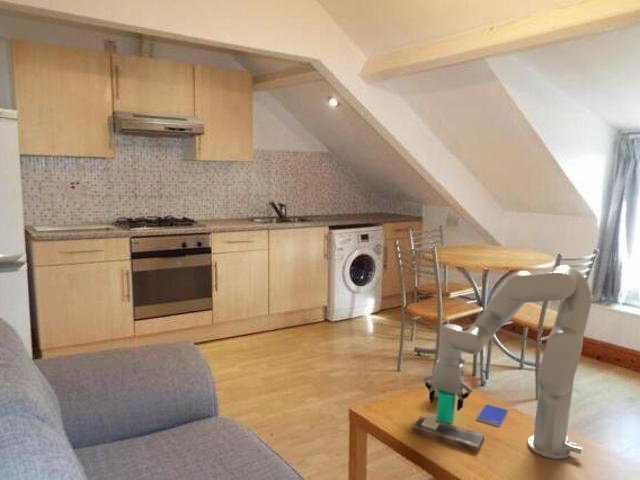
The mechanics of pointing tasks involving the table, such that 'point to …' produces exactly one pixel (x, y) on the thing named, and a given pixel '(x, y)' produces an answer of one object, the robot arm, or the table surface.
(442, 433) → the switch board
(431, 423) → the switch tab
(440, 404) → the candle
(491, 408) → the hard drive
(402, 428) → the table surface
